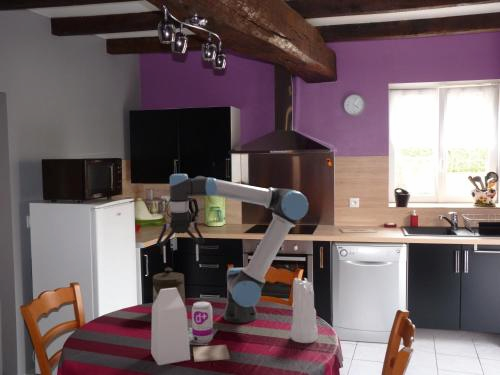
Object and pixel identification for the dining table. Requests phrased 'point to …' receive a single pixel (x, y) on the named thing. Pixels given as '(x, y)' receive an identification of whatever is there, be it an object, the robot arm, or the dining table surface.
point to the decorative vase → (303, 312)
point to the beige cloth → (210, 353)
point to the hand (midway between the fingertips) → (181, 261)
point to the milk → (169, 328)
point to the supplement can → (202, 322)
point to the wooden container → (168, 283)
